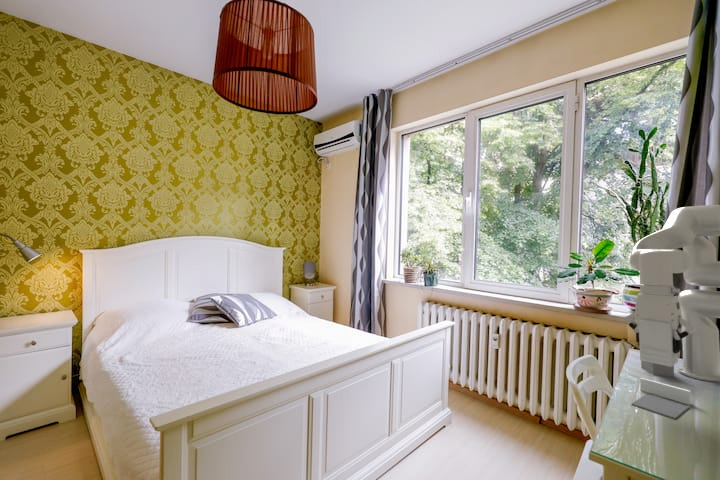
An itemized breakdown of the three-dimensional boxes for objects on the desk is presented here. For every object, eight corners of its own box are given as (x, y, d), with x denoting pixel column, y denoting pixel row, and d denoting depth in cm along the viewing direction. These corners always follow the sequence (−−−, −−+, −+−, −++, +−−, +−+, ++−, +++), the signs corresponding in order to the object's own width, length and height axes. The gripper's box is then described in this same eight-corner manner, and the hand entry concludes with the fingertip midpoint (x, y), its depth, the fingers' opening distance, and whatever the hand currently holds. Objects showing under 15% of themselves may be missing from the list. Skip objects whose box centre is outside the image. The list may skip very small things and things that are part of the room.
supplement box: (678, 362, 98) (677, 320, 98) (671, 367, 94) (670, 323, 94) (646, 355, 104) (645, 315, 104) (638, 360, 100) (637, 319, 100)
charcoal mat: (647, 394, 106) (647, 393, 106) (689, 407, 97) (689, 406, 97) (631, 404, 100) (631, 403, 100) (675, 419, 91) (675, 417, 91)
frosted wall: (642, 389, 110) (641, 377, 110) (691, 403, 100) (690, 390, 100) (640, 390, 109) (640, 378, 109) (689, 404, 99) (689, 391, 99)
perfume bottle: (674, 375, 121) (672, 327, 121) (653, 374, 122) (651, 326, 122) (661, 368, 127) (659, 322, 128) (641, 367, 129) (639, 322, 129)
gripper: (700, 292, 94) (702, 354, 93) (626, 286, 109) (628, 339, 108) (691, 295, 90) (694, 359, 90) (616, 288, 105) (618, 343, 104)
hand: (658, 348), depth 99 cm, fingers closed on supplement box, 7 cm apart
